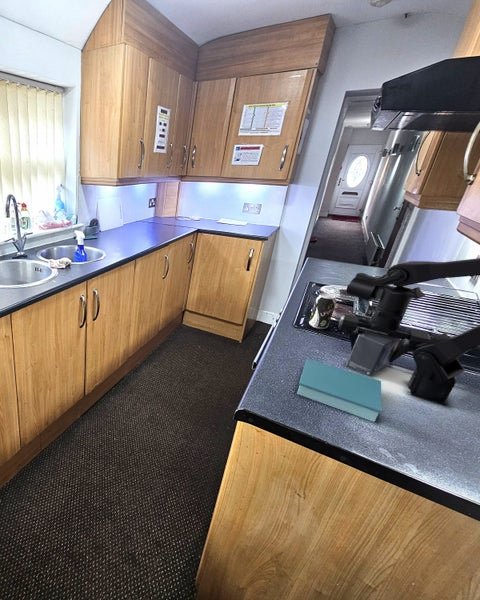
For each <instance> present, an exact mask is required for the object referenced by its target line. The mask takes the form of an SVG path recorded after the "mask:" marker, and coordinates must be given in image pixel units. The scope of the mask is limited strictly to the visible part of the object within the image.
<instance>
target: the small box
mask: <svg viewBox="0 0 480 600" xmlns="http://www.w3.org/2000/svg"><path fill="white" fill-rule="evenodd" d="M400 340H401V339H400V338H396V337H392V336H388V335H383V334H379V333H375V332H371V331H367V330H365V331H364V332H362V333H360V334H358V335H357V340H356V343H355V345H354V348H353V350H352V351H351V353H350V355H349V357H348V360H347V362H346V364H345V366H347V367H349V368H352V369H353V370H356V371H358V372H360V373H362V374H364V375H365V376H367V377H372V376H374V375H375V374H376V373H378V372H380V371H382V370H384V369H385V368H387V367H389V364H390V363H389V360H390V357H391V355H392V354H393V352H394V351H395V349H396V348H397V346H398V344H399V342H400Z"/></svg>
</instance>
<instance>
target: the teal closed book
mask: <svg viewBox="0 0 480 600" xmlns="http://www.w3.org/2000/svg"><path fill="white" fill-rule="evenodd" d="M298 385H299V387H298V389H297V392H296V395H299V396H301V397H305V398H307V399H310V400H313V401H315V402H318V403H321V404H324V405H326V406H329V407H331V408H335V409H338V410H340V411H343V412H345V413H348V414H352V415H354V416H357V417H360V418H362V419H364V420H365V419H366V420H368V421H371V422H374V423H375V422H376V420H377V418H378V415H379V414H382V412H383V404H382V403H383V400H382V380H380V379H377V378H373V377H371V376H367V375H363V374H359V373H357V372H353V371H350V370H347V369H344V368H340V367H336V366H333V365H330V364H326V363H323V362H320V361H316V360H313V359H310V358H306V362H305V364H304V366H303V370H302V373H301V376H300V379H299V383H298Z"/></svg>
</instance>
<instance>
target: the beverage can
mask: <svg viewBox="0 0 480 600" xmlns="http://www.w3.org/2000/svg"><path fill="white" fill-rule="evenodd" d="M336 306H337V300H336V296H335V295H333V294H330V293H325V292H323V293H319V295H318V296H316V299H315V301H314V304H313V307H312V309H311V310H312V311H311V314H310V318H309V320H308V324H309V325H310V326H311V327H313V328H315V329H319V330H325V329H327V328H328V327H329V326H330V322H331V319H332V318H333V317H332V316H333V313H334V311H335V307H336Z"/></svg>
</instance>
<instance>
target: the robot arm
mask: <svg viewBox="0 0 480 600" xmlns="http://www.w3.org/2000/svg"><path fill="white" fill-rule="evenodd" d="M479 276H480V257H478V258H477V257H476V258H467V259H460V260H451V261H430V260H429V261H427V260H425V261H424V260H422V261H421V260H420V261H419V260H411V261H410V260H409V261H405V262H402V263H401V262H400V263H397V264H394V265H391V266H390V267H389V268H388V270H387V271H386V273H385V274H384V275H382V276H380V277H377V276H373V275H369V274H367V273H365V272H358V273H356V274H355V277H353V279H351V281H350V282H349V284H347V286H346V294H347V295H350V296H352V297H355V298H358V299H362V300H364V301H367V302H374V301H375V300H378V303H377V305H372V304H367V306H366V308H365V311H364V316H367V317H370V319H369V323H367V322H362V321H360V317H359V316H354V315H350V314H342V315H341V316H340V320H339V322H338V326H337V328H338V329H339V330H342V331H344V333H345V334H347V335H348V337H349V340H350V348H351V349H350V350H351V352H352V350H353V348H354V345H355V343H356V340H357V338H358V335H359V330H363V331H371V332H375V333H379V334H383V335H388V336H392V337H396V338H400V340H399V343H398V345H397V347H396V349H395V351H394V352H393V354H392V355H391V357H390V360H389V364H391V363H394V362H395V361H396V360H398V359H399V358H400V357H402V356H404V355H405V354H407V353H409V352H412V360H413V362H415V366H416V367H415V368H416V371H413V372H412V374H411V375H410V378H409V380H408V382H407V388H408V390H409V394H410V396H413V397H416V398H419V399H422V400H426V401H428V402H432V403H434V404H435V403H436V404H438V405H440V406H441V405H442V406H446V407H447V406H448V401H447V399H448V398H449V396H450V394H451V393H452V390H454V387H455V385H456V384H457V380H456V378H455V377H456V376H459V375H461V374H462V373H464V372H465V371H466V370H465V368H464V366H463V365H462V363H461V362H460V361H459V359H460V358H461V357H463V356H464V355H466V354H467V353H468V352H470V351H471V350H473V349H475V348H477V347H479V346H480V324H478V325H477V326H474V327H472V328H470V329H468V330H465V331H463V332H462V333H460V334H459V333H458V335H453V336H449V335H448V334H447V332H443V333H441V334H439V335H436V336H434V337H432V338H431V336H430V335H429V333H428V332H425V331H420V330H416V329H412V328H410V329H409V330H408V332H406V331H401V330H399V328H400V325H401V323H402V321H403V319H404V316H405V315H406V313H407V310H408V307H409V305H410V303H411V300H412V299H414V300H418V299H422V298H425V297H426V294H425V293H424V292H423V291H422V290H421V288H420V287H419V286H417V287H414V288H410V287H408V286H411V285H412V286H413V285H417V284H420V283H425V282H430V281H434V280H440V279H453V278H465V277H479Z"/></svg>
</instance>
